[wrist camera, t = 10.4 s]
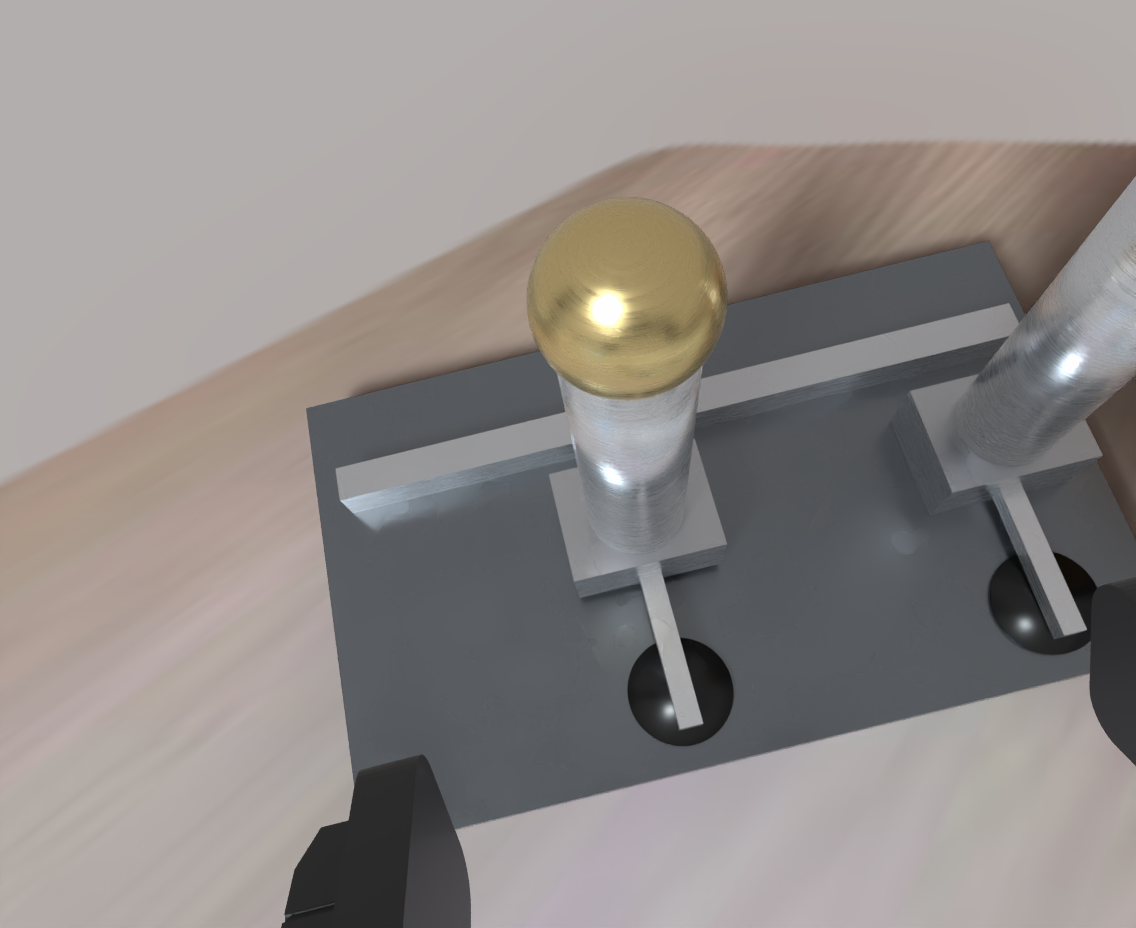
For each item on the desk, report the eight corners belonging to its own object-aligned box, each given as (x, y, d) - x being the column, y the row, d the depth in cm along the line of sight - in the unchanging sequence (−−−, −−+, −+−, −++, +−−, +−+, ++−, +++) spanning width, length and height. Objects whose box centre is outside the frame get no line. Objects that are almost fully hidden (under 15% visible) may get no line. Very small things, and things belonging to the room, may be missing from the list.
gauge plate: (384, 847, 24) (347, 854, 21) (328, 433, 29) (291, 392, 26) (1147, 659, 24) (1217, 641, 21) (966, 276, 29) (1003, 217, 26)
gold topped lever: (615, 747, 22) (570, 685, 10) (556, 497, 25) (459, 189, 12) (765, 709, 22) (919, 600, 10) (691, 464, 25) (735, 121, 12)
